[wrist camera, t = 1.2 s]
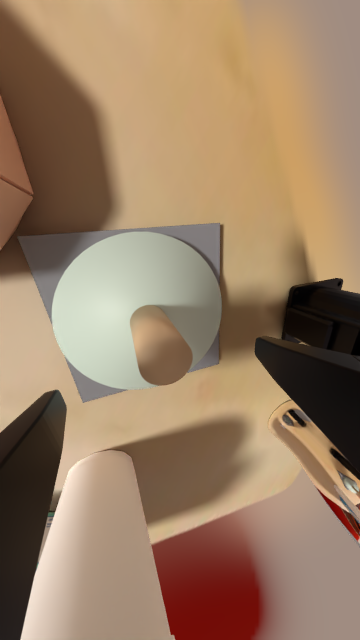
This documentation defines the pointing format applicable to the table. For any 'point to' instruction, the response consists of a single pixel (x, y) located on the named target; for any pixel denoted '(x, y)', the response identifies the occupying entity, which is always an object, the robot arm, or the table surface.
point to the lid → (136, 310)
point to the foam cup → (97, 561)
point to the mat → (61, 249)
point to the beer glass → (321, 464)
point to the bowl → (11, 180)
